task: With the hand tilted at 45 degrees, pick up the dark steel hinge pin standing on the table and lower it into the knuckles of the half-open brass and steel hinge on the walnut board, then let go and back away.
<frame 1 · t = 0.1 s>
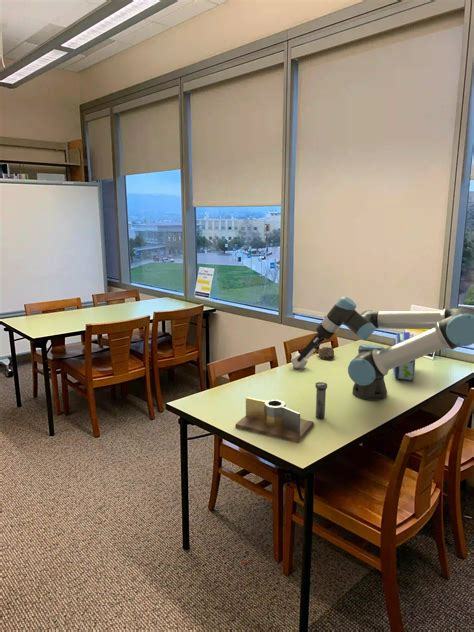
hand: (300, 361, 203), 15 cm above the table, tool tilted 35°, fingers open, 13 cm apart
hinge base: (274, 426, 173), on the table
hinge: (273, 413, 171), on the hinge base, point 6 cm above the table
concrete sample: (326, 357, 259), on the table
die: (299, 368, 241), on the table
hinge pin: (320, 417, 180), on the table
lunch box: (402, 374, 229), on the table
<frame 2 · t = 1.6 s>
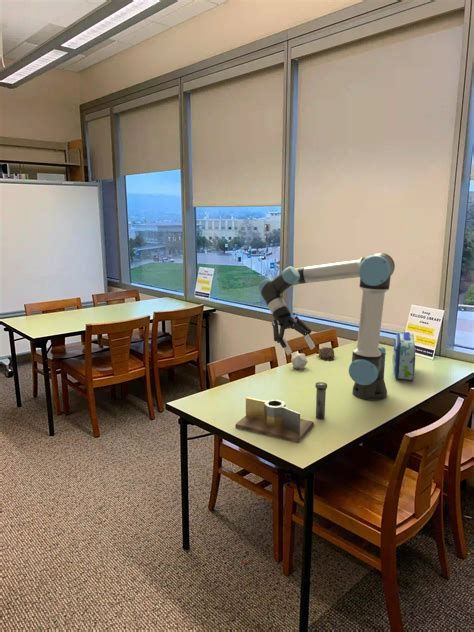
hand: (301, 350, 189), 24 cm above the table, tool tilted 45°, fingers open, 13 cm apart
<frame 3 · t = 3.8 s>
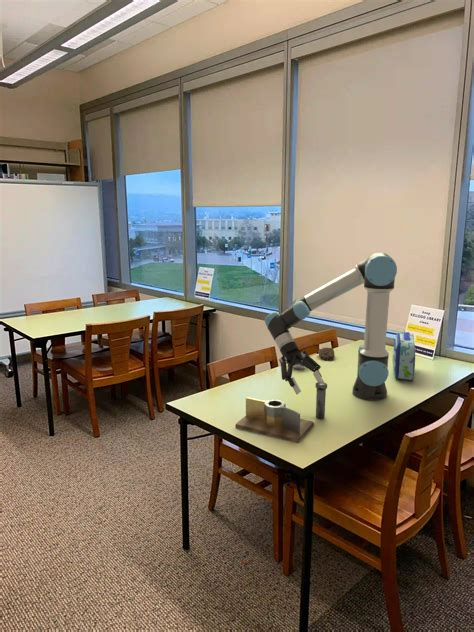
hand: (311, 389, 181), 11 cm above the table, tool tilted 45°, fingers open, 13 cm apart
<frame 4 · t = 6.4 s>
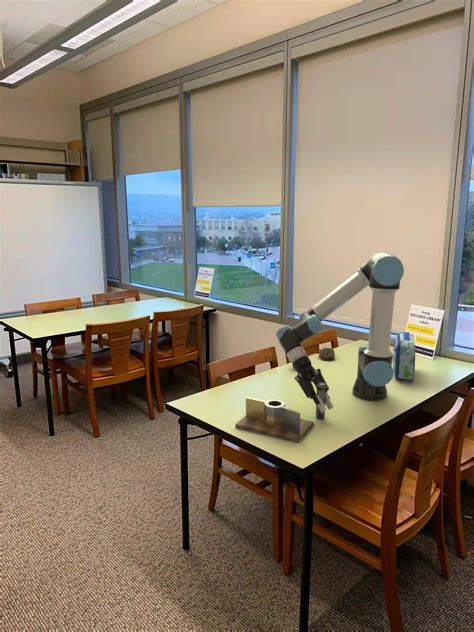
hand: (327, 409, 176), 5 cm above the table, tool tilted 45°, fingers closed on hinge pin, 4 cm apart
hinge pin: (320, 417, 180), on the table, touching gripper
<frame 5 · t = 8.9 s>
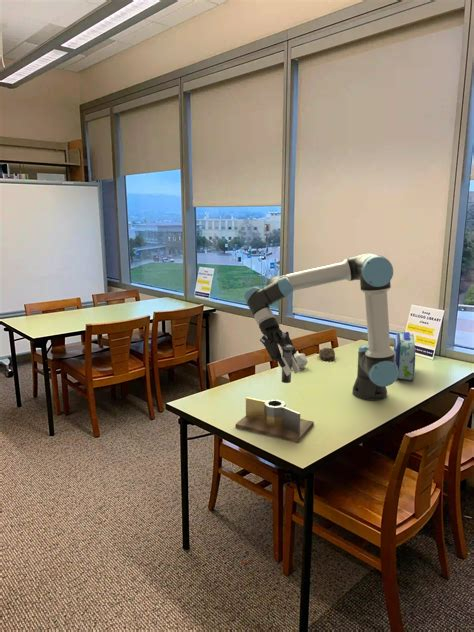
hand: (293, 372, 168), 22 cm above the table, tool tilted 45°, fingers closed on hinge pin, 4 cm apart
hinge pin: (286, 381, 172), point 17 cm above the table, touching gripper
when the fingers open (12 cm above the table, at t = 11.6 s): hinge pin drops 5 cm, resting on hinge base.
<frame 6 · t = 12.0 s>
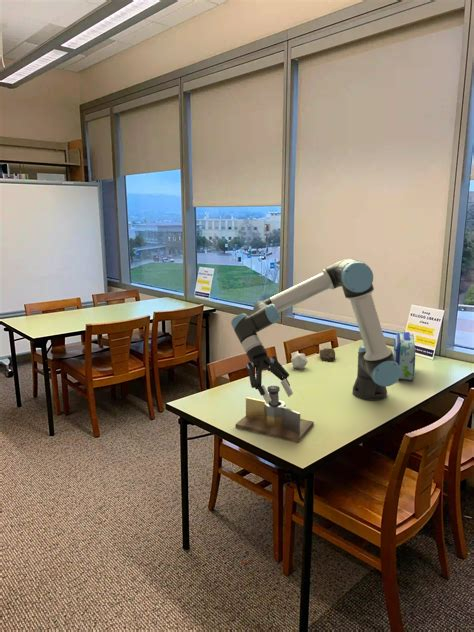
hand: (280, 398, 168), 13 cm above the table, tool tilted 45°, fingers open, 10 cm apart
hinge pin: (274, 422, 173), point 2 cm above the table, touching hinge base
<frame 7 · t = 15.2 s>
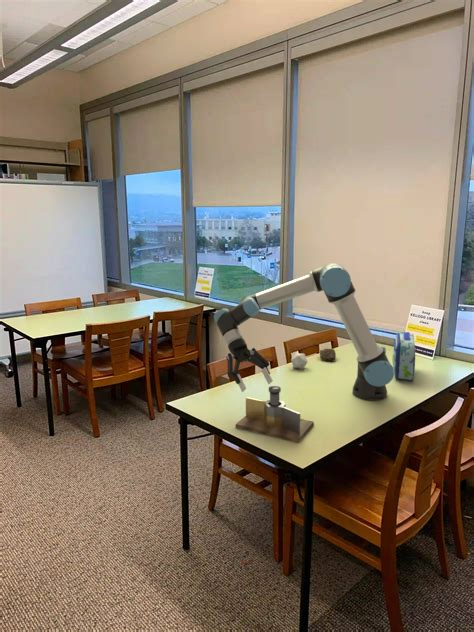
hand: (257, 386, 178), 13 cm above the table, tool tilted 45°, fingers open, 13 cm apart
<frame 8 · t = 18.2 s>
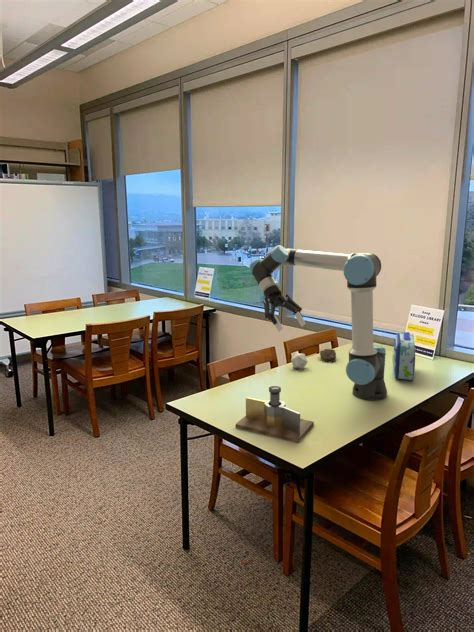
hand: (292, 327, 193), 33 cm above the table, tool tilted 45°, fingers open, 13 cm apart
at the end: hinge pin 0.1 cm off-centre on the hinge, point 1.5 cm above the hinge's base; hinge pin tilted 1°; the gripper is holding nothing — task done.
